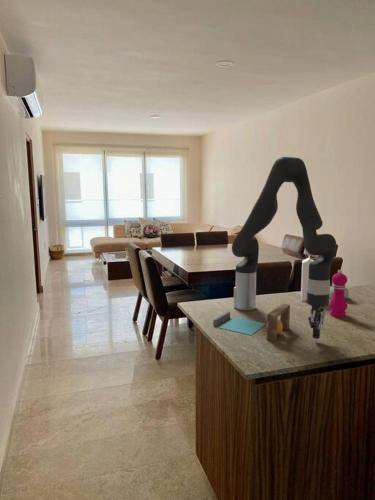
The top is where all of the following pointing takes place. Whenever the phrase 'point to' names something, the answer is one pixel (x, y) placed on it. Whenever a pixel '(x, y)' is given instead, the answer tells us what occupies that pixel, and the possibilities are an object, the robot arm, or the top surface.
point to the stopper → (221, 318)
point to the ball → (279, 326)
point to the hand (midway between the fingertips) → (316, 337)
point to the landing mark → (243, 326)
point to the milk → (305, 278)
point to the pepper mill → (338, 295)
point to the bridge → (272, 320)
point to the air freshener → (333, 291)
